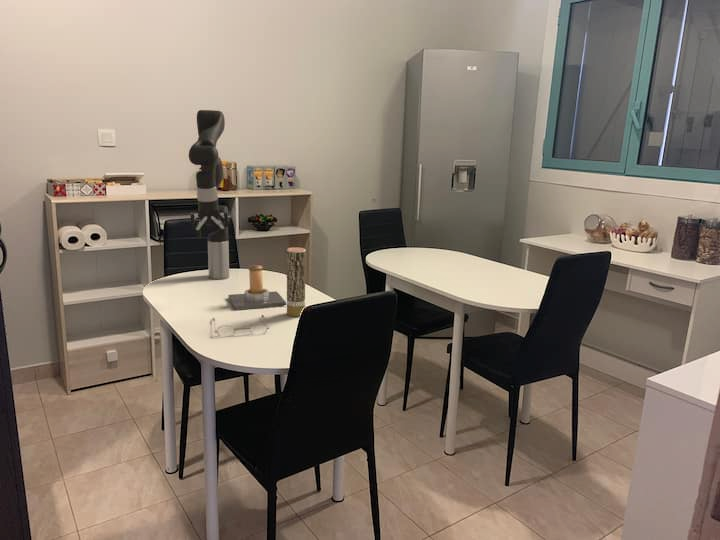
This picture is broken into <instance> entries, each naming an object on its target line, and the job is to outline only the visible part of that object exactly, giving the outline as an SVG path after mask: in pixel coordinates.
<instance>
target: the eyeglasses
mask: <svg viewBox="0 0 720 540" xmlns="http://www.w3.org/2000/svg"><path fill="white" fill-rule="evenodd" d="M261 317H262V318H263V320H264V322H265V324H264V323H262V322H261V323H253V324H252V325H250V327H237V328H235V327H234V326H233V325H224V327H231V328H233V330H234V331H233V333H232V334H233V335H234V334H235V332H236V331H238V330H249V332H250V334H252V333H253V332H251V327H252V326H255V325H263V326H265V331H264V332H265V333H267V331H268V330H269V329H270V327H269V325H267V321H266V319H265V316H264V314H262V315H261ZM213 322H214V326H216V322H215V318H214V317H213ZM222 327H223V325H221V326H219V327H218V328H214V333H216V334H217V335H218V336H219V335H220V334H219V329H220V328H222ZM216 329H217V330H216Z"/></svg>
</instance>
